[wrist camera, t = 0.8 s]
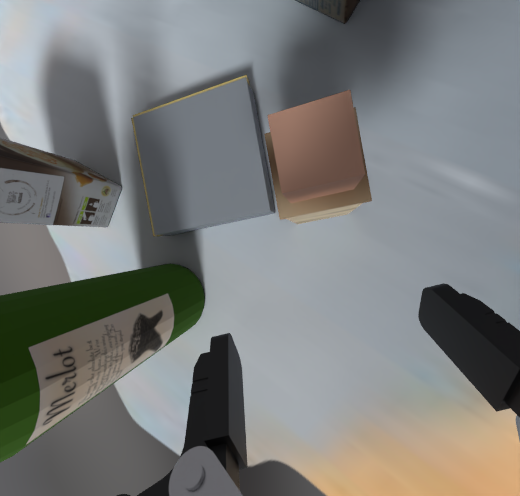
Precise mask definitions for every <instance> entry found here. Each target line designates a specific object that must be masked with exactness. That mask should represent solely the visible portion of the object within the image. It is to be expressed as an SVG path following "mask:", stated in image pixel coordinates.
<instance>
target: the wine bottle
mask: <svg viewBox="0 0 520 496" xmlns="http://www.w3.org/2000/svg"><path fill="white" fill-rule="evenodd" d="M204 302H205V296H204V290H203V287H202V285H201V283H200V281H199V279H198V278H197V277H196V275H195V274H194V273H193V272H191V271H190V270H189V269H187V268H185V267H183V266H180V265H177V264H165V265H159V266H154V267H149V268H143V269H138V270H133V271H128V272H122V273H117V274H112V275H106V276H101V277H96V278H91V279H85V280H80V281H75V282H70V283H65V284H59V285H54V286H48V287H43V288H38V289H33V290H28V291H23V292H17V293H12V294H6V295H1V296H0V462H2V461H4V460H6V459H8V458H10V457H12V456H13V455H15V454H16V453H18V452H19V451H20V450H22V449H23V448H25V447H26V446H27V445H28V444H30V443H31V442H33V441H34V440H36V439H37V438H38V437H40V436H41V435H42V434H44V433H45V432H47V431H48V430H49V429H51V428H52V427H54V426H55V425H56V424H58V423H59V422H61V421H62V420H63V419H65V418H66V417H67V416H69V415H70V414H72V413H73V412H75V411H76V410H77V409H79V408H80V407H81V406H83V405H84V404H85V403H87V402H88V401H90V400H91V399H93V398H94V397H95V396H97V395H98V394H99V393H100V392H102V391H104V390H105V389H106V388H108V387H109V386H110V385H112V384H113V383H115V382H116V381H118V380H119V379H120V378H122V377H123V376H125V375H126V374H127V373H129V372H130V371H131V370H133V369H134V368H136V367H137V366H138V365H140V364H141V363H143V362H144V361H145V360H147V359H148V358H150V357H151V356H152V355H154V354H155V353H156V352H158V351H159V350H161V349H162V348H163V347H165V346H166V345H168V344H169V343H170V342H172V341H173V340H175V339H176V338H177V337H179V336H180V335H181V334H183V333H184V332H186V331H187V330H188V329H190V328H191V327H192V326H193V325H195V324H196V323H197V321H198V320H199V318H200V317H201V314H202V311H203V309H204Z"/></svg>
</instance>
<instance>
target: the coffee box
mask: <svg viewBox="0 0 520 496" xmlns="http://www.w3.org/2000/svg"><path fill="white" fill-rule="evenodd" d="M120 192H121V186H120V185H118V184H116V183H115V182H113V181H111V180H109V179H107V178H105V177H104V176H102V175H100V174H98V173H96V172H94V171H93V170H91V169H89V168H87V167H85V166H84V165H82V164H80V163H78V162H76V161H74V160H71V159H68V158H65V157H62V156H58V155H55V154H52V153H48V152H45V151H42V150H39V149H35V148H32V147H29V146H26V145H22V144H19V143H16V142H12V141H9V140H6V139H2V138H0V223H24V224H44V225H66V226H89V227H108V224H109V222H110V219H111V216H112V214H113V211H114V208H115V205H116V203H117V200H118V197H119V195H120Z"/></svg>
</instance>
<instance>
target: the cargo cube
mask: <svg viewBox="0 0 520 496" xmlns="http://www.w3.org/2000/svg"><path fill="white" fill-rule="evenodd" d="M268 120H269V126H270V131H271V137H272V142H273V148H274V154H275V159H276V165H277V170H278V176H279V181H280V187H281V192H282V194H283V195H284V196H285V198H286V199H287V200H288V201H289V202H290V203H294V202H299V201H303V200H308V199H312V198H317V197H321V196H326V195H331V194H335V193H340V192H344V191H349V190H353V189H355V187H356V186H357V185H358V183H359V182H360V181H361V179H362V178H363V177H364V175H365V170H364V164H363V158H362V153H361V147H360V142H359V136H358V130H357V125H356V119H355V114H354V108H353V103H352V97H351V91H350V90H347V91H344V92H341V93H338V94H334V95H331V96H328V97H325V98H322V99H318V100H315V101H312V102H309V103H306V104H302V105H299V106H296V107H293V108H289V109H286V110H283V111H280V112H277V113H273V114H270V115H268Z"/></svg>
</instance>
